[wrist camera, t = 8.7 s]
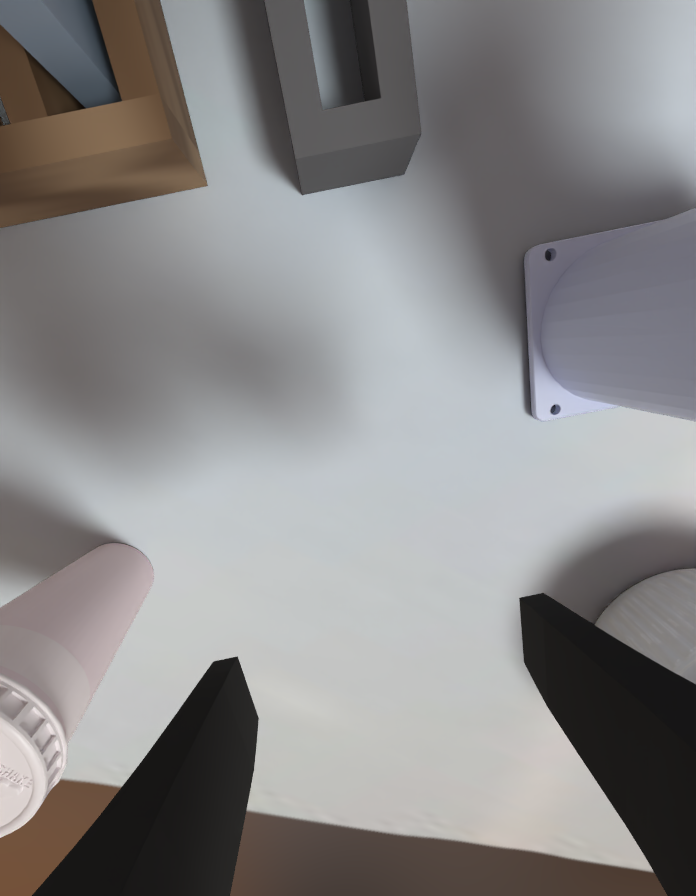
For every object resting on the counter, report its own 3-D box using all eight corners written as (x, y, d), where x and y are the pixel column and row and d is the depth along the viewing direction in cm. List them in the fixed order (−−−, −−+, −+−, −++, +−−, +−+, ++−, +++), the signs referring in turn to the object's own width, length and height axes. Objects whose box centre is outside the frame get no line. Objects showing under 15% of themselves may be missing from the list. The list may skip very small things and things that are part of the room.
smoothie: (32, 548, 19) (-700, 1040, 6) (137, 500, 19) (-380, 908, 5) (103, 637, 21) (-324, 1179, 7) (201, 595, 20) (-58, 1090, 7)
